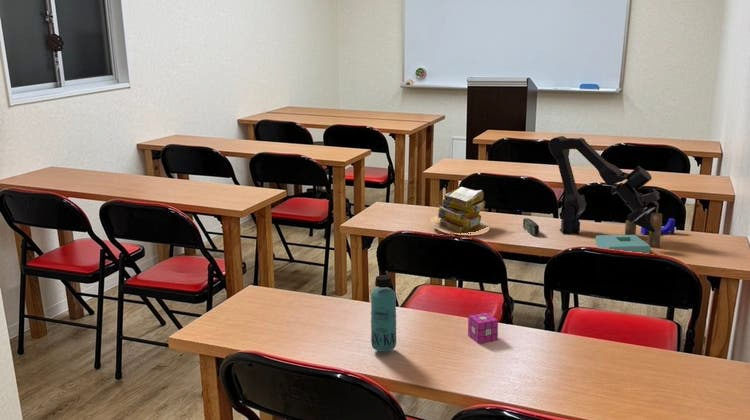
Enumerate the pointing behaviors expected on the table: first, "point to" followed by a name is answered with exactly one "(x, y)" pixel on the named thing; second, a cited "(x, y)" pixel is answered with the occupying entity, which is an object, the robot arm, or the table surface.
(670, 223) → the cable clip
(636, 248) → the teal hole plate
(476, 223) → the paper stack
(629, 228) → the short walnut pin
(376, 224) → the table surface
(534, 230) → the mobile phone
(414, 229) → the table surface
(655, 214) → the tall walnut pin
